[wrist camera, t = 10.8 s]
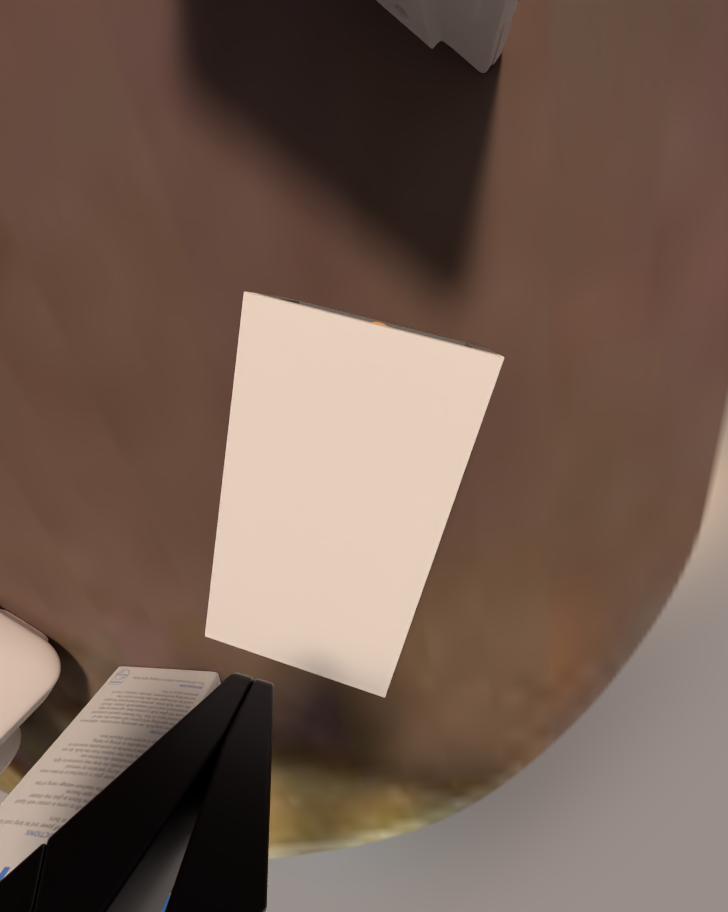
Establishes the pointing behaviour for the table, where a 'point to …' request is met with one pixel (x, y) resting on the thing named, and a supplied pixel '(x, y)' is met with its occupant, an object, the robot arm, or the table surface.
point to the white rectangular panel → (337, 485)
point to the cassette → (459, 25)
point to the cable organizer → (22, 679)
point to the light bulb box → (96, 752)
